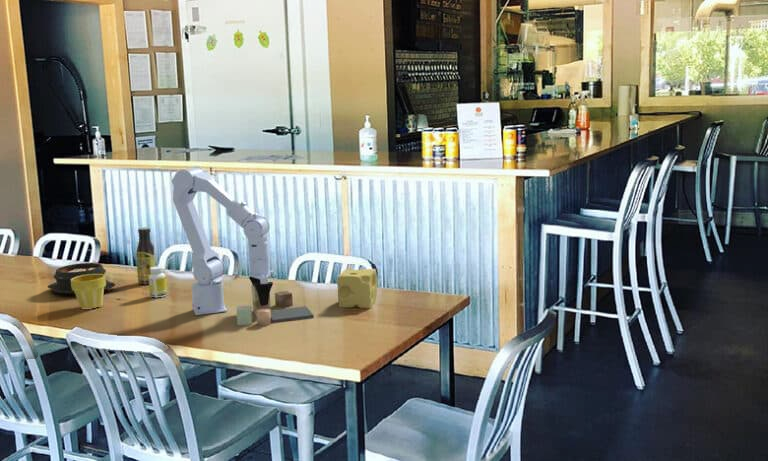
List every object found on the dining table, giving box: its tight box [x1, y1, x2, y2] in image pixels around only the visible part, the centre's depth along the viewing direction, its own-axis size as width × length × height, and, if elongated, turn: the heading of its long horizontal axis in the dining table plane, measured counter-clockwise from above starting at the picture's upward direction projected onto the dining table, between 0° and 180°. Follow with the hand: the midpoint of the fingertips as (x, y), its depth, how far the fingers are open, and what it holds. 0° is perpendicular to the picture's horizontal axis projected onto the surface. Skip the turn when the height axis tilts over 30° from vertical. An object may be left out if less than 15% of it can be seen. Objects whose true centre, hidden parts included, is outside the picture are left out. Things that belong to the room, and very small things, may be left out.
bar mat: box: [270, 305, 314, 324], centre depth 233 cm, size 12×10×1 cm
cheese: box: [336, 268, 378, 309], centre depth 243 cm, size 10×11×10 cm
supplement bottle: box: [148, 265, 168, 298], centre depth 260 cm, size 5×5×10 cm
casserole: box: [47, 262, 116, 295], centre depth 272 cm, size 25×19×8 cm
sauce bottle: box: [135, 226, 156, 285], centre depth 278 cm, size 7×6×20 cm
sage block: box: [236, 305, 253, 326], centre depth 228 cm, size 4×4×4 cm
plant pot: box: [71, 274, 107, 309], centre depth 250 cm, size 10×10×10 cm
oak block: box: [251, 285, 272, 316], centre depth 238 cm, size 4×4×8 cm
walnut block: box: [274, 290, 294, 309], centre depth 244 cm, size 4×4×4 cm
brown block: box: [255, 309, 272, 327], centre depth 226 cm, size 4×4×4 cm
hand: (262, 302), depth 237 cm, fingers open, 7 cm apart
